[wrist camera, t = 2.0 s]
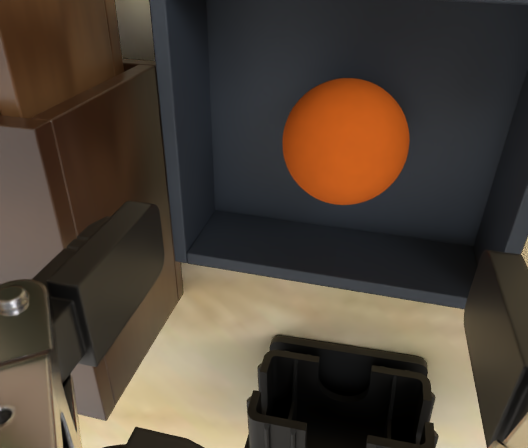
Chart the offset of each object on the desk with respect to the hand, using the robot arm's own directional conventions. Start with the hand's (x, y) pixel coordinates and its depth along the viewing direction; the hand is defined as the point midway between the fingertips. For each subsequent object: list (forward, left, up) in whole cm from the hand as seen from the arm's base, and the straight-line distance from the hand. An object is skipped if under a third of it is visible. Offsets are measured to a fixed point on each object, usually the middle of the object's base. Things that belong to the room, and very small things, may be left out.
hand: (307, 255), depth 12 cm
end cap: (-2, +17, -11) cm, 20 cm away
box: (0, 0, -11) cm, 11 cm away
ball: (0, 0, -8) cm, 8 cm away
